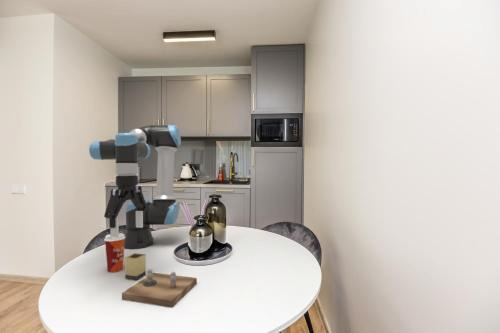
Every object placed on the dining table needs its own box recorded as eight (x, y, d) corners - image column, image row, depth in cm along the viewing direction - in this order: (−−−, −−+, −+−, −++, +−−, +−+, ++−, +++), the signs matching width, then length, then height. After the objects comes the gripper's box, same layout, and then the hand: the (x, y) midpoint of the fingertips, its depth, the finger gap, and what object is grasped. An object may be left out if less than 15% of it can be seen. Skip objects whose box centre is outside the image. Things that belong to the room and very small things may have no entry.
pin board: (153, 277, 99) (153, 259, 98) (196, 283, 94) (196, 264, 94) (121, 299, 83) (121, 277, 83) (171, 307, 78) (171, 284, 78)
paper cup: (117, 274, 102) (116, 238, 102) (100, 272, 104) (99, 237, 104) (130, 266, 110) (129, 233, 110) (114, 264, 111) (113, 232, 111)
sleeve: (134, 273, 103) (134, 253, 102) (145, 274, 101) (145, 254, 101) (125, 279, 98) (125, 257, 98) (136, 280, 96) (136, 259, 96)
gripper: (139, 173, 110) (140, 223, 111) (91, 176, 86) (92, 240, 86) (155, 173, 109) (155, 224, 109) (110, 176, 84) (111, 242, 85)
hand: (127, 231), depth 98 cm, fingers open, 13 cm apart
